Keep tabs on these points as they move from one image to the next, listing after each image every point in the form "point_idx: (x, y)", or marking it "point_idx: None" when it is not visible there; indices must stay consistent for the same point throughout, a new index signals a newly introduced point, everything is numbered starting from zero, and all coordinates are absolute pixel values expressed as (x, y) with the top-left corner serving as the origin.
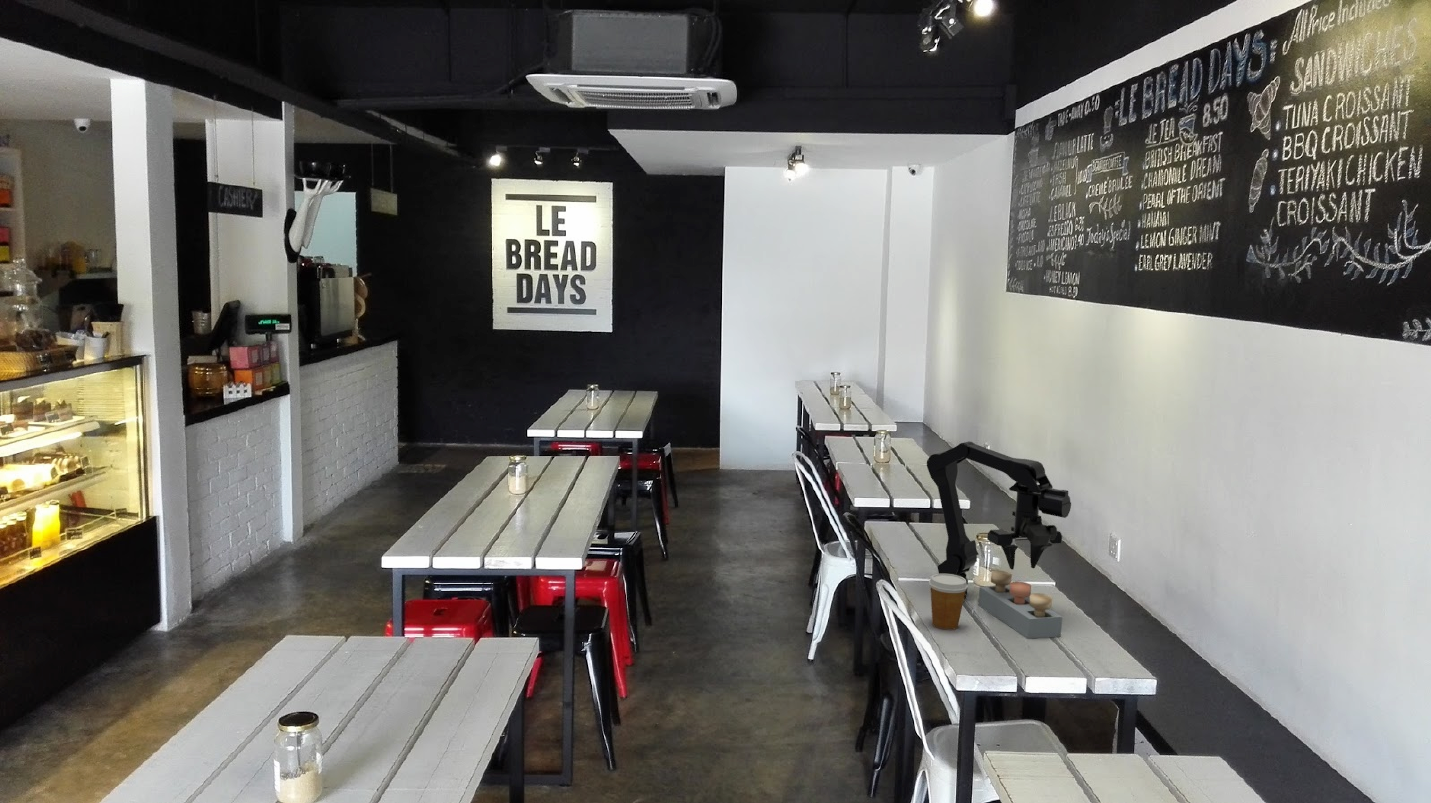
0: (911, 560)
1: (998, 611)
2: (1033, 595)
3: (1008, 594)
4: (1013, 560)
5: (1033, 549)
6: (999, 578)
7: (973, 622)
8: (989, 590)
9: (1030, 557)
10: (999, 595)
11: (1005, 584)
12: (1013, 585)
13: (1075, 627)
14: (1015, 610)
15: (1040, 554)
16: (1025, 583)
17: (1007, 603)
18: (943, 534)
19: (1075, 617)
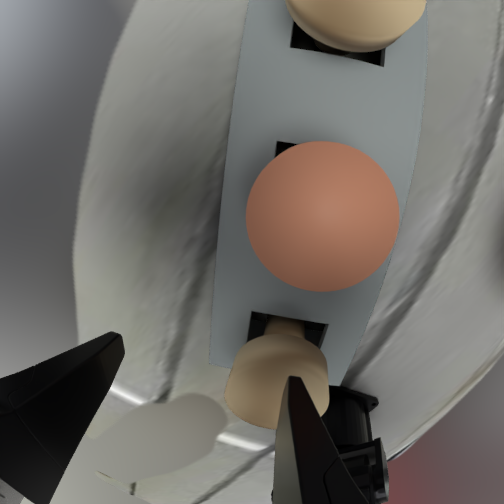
0: (262, 494)
1: None
2: (394, 9)
3: (296, 291)
4: (307, 434)
5: (52, 445)
6: (321, 372)
7: (467, 225)
8: (336, 352)
9: (96, 410)
10: (347, 295)
11: (293, 339)
12: (387, 227)
13: (150, 64)
14: (422, 105)
15: (20, 376)
16: (267, 231)
17: (397, 193)
18: (154, 496)
19: (94, 148)
